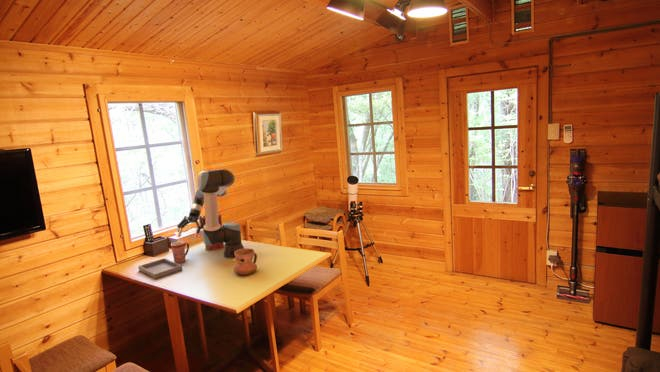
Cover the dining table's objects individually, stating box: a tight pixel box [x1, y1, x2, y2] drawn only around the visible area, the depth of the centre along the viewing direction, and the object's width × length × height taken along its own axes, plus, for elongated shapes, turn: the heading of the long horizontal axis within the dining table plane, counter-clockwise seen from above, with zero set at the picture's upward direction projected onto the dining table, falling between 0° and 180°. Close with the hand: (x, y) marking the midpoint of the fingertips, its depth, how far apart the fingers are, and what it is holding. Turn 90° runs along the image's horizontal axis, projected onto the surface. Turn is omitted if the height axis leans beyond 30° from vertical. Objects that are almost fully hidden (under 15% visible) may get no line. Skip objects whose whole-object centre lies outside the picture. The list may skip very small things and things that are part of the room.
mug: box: [170, 240, 190, 264], centre depth 279 cm, size 13×9×14 cm
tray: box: [138, 257, 183, 280], centre depth 263 cm, size 24×18×4 cm
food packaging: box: [202, 213, 225, 251], centre depth 303 cm, size 13×9×25 cm
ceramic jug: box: [232, 247, 258, 276], centre depth 251 cm, size 18×14×14 cm
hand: (186, 236), depth 287 cm, fingers open, 13 cm apart
